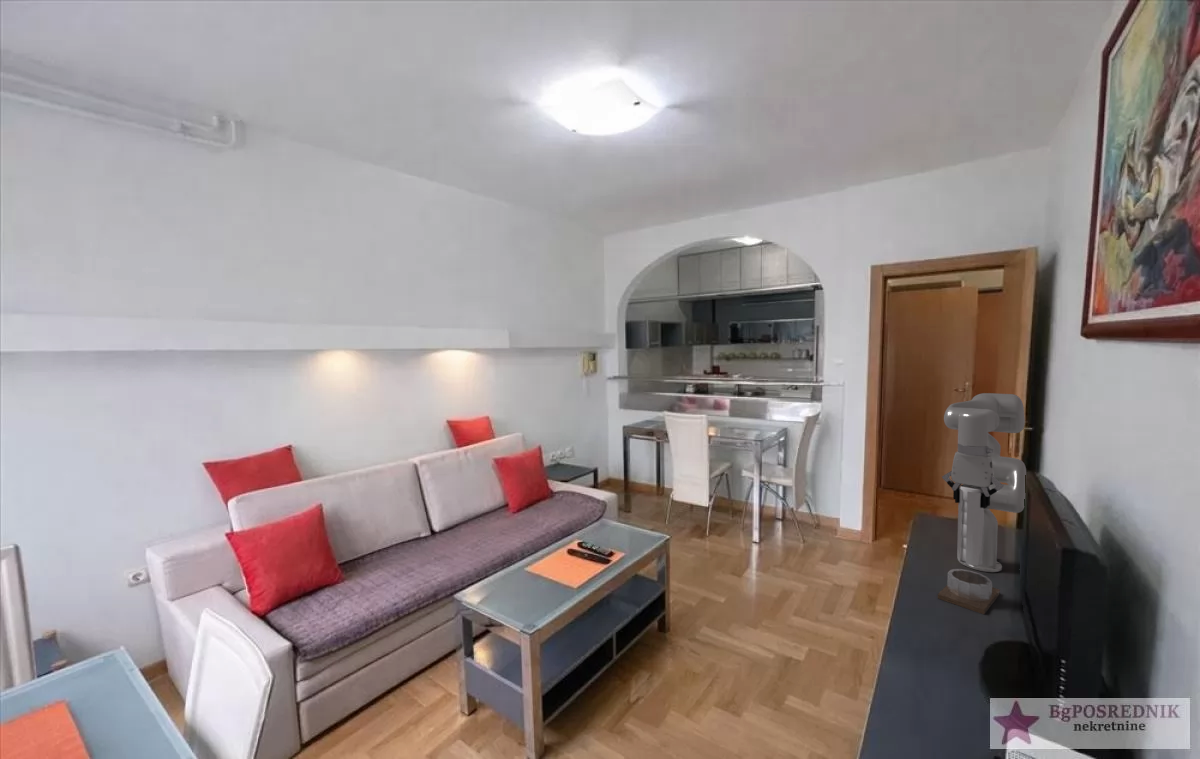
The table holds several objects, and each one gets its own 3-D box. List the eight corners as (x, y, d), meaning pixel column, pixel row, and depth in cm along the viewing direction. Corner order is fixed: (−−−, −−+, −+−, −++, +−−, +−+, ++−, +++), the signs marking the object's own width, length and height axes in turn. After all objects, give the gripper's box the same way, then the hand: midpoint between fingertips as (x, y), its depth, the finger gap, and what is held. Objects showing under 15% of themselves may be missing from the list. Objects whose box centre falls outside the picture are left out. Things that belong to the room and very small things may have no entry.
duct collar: (955, 580, 163) (956, 562, 162) (999, 594, 153) (1000, 575, 153) (937, 598, 152) (938, 579, 151) (984, 614, 142) (984, 594, 142)
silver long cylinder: (987, 566, 148) (989, 489, 146) (964, 565, 149) (965, 489, 147) (975, 557, 154) (977, 483, 152) (953, 556, 155) (954, 483, 153)
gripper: (1010, 452, 144) (1009, 508, 145) (944, 444, 158) (943, 495, 159) (1004, 456, 140) (1002, 514, 141) (936, 447, 153) (935, 500, 155)
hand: (971, 504), depth 150 cm, fingers closed on silver long cylinder, 6 cm apart
